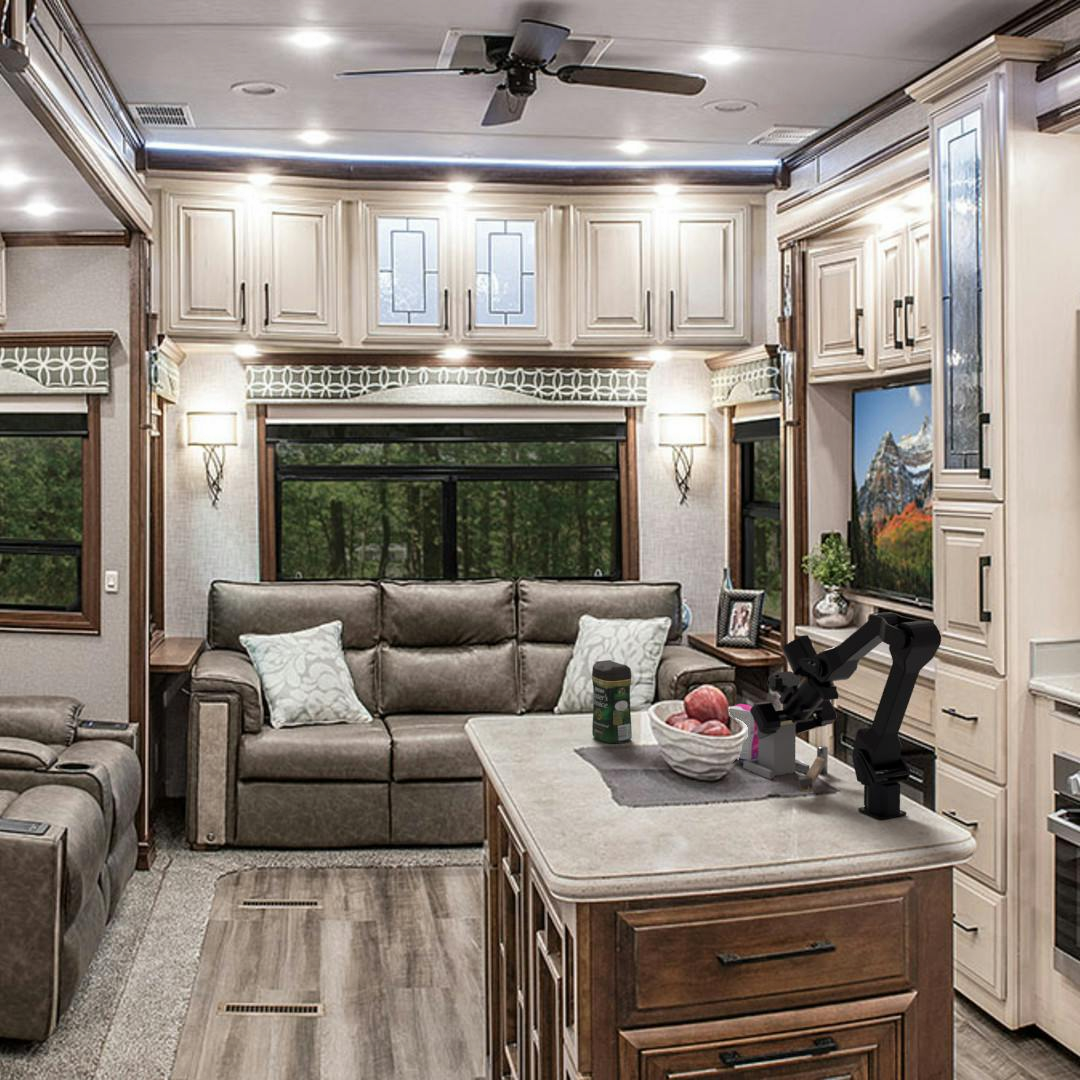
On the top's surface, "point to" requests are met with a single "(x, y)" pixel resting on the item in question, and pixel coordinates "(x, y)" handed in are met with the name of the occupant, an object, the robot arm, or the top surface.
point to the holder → (756, 768)
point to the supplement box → (752, 742)
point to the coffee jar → (611, 702)
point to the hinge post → (823, 752)
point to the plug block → (779, 749)
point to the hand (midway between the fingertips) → (776, 734)
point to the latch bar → (811, 774)
